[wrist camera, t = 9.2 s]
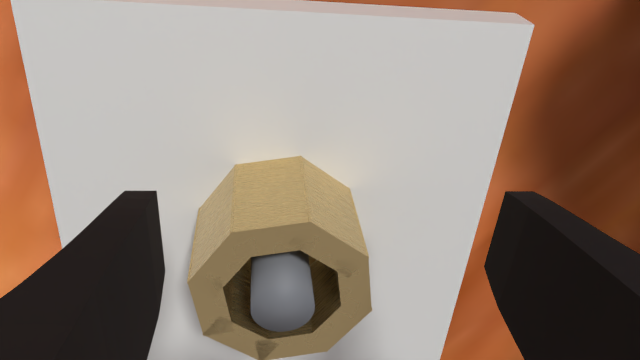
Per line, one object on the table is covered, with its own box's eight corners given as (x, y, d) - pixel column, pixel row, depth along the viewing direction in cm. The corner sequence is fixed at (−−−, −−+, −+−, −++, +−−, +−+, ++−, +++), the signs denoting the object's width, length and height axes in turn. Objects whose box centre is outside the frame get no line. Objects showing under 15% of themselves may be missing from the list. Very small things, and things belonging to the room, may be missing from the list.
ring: (346, 148, 19) (366, 213, 16) (356, 269, 22) (374, 344, 19) (188, 170, 19) (173, 239, 16) (219, 288, 22) (212, 369, 19)
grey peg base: (515, 12, 19) (612, 73, 14) (430, 337, 27) (471, 450, 22) (28, -16, 17) (-72, 42, 12) (96, 344, 25) (55, 471, 20)
